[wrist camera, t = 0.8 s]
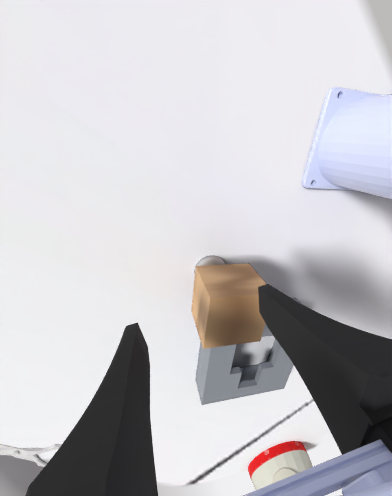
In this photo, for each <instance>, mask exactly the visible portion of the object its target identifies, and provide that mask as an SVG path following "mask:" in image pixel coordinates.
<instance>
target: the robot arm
mask: <svg viewBox="0 0 392 496" xmlns="http://www.w3.org/2000/svg"><path fill="white" fill-rule="evenodd" d="M338 93H339V97H337V95H338ZM312 181H313V183H312V184H311V182H312ZM302 186H303V187H305V188H318V189H340V190H357V191H361V192H365V193H369V194H373V195H376V196H380V197H384V198H388V199H392V94H388V95H379V94H373V93H368V92H362V91H357V90H351V89H346V88H340V87H333V88H331V89H330V90H329V91H328V93H327V95H326V99H325V102H324V106H323V110H322V113H321V117H320V120H319V124H318V127H317V131H316V134H315V138H314V141H313V145H312V149H311V152H310V156H309V159H308V163H307V166H306V170H305V173H304V177H303V180H302ZM258 295H259V312H260V314H261V316H262V318H263V320H264V322H265V323H266V325H267V327H268V329H269V330H270V331H271V333H272V334H273V336H274V337H275V339H276V340H277V341H278V343H279V344H280V346H281V347H282V348H283V350H284V351H285V353H286V354H287V355H288V357H289V358H290V360H291V361H292V363H293V364H294V366H295V367H296V369H297V371H298V372H299V374H300V376H301V378H302V379H303V381H304V383H305V385H306V386H307V388H308V390H309V392H310V394H311V395H312V397H313V399H314V401H315V403H316V404H317V406H318V408H319V410H320V412H321V414H322V416H323V418H324V420H325V421H326V423H327V425H328V427H329V429H330V431H331V433H332V435H333V437H334V439H335V441H336V443H337V445H338V447H339V449H340V451H341V453H342V455H341V456H338V457H336V458H333V459H331V460H329V461H326V462H324V463H321V464H319V465H316V466H314V467H312V468H309V469H307V470H304V471H302V472H299V473H297V474H294V475H292V476H290V477H287V478H285V479H282V480H280V481H277V482H275V483H273V484H270V485H268V486H265V487H263V488H260V489H258V490H256V491H253V492H251V493H248V494H246V495H244V496H325V495H327V494H329V493H332V492H334V491H336V490H339V489H341V488H343V487H344V488H343V489H342V494H343V496H392V339H388V338H384V337H381V336H378V335H374V334H371V333H368V332H365V331H362V330H359V329H356V328H353V327H350V326H348V325H345V324H342V323H340V322H337V321H335V320H333V319H330V318H328V317H326V316H324V315H321V314H319V313H317V312H315V311H313V310H311V309H309V308H307V307H306V306H304V305H302V304H300V303H298V302H297V301H295V300H293V299H291V298H290V297H288V296H286V295H285V294H283V293H282V292H280V291H278V290H277V289H275V288H273V287H272V286H270V285H269V284H266V285H262V286H259V287H258ZM26 496H158V491H157V482H156V474H155V465H154V455H153V445H152V434H151V422H150V362H149V353H148V346H147V344H146V341H145V339H144V337H143V334H142V332H141V330H140V327H139V325H138V323H135V324H131V325H128V326H126V328H125V330H124V333H123V336H122V338H121V341H120V344H119V346H118V349H117V351H116V353H115V356H114V358H113V360H112V363H111V365H110V367H109V369H108V371H107V373H106V375H105V377H104V379H103V381H102V383H101V385H100V387H99V389H98V390H97V392H96V394H95V396H94V397H93V399H92V401H91V402H90V404H89V406H88V407H87V409H86V410H85V412H84V414H83V415H82V417H81V418H80V420H79V421H78V423H77V424H76V426H75V427H74V429H73V430H72V431H71V433H70V434H69V436H68V437H67V438H66V440H65V441H64V443H63V444H62V445H61V447H60V448H59V449H58V451H57V452H56V453H55V455H54V456H53V457H52V459H51V460H50V461H49V462H48V463H47V465H46V466H45V467H44V468H43V470H42V471H41V472H40V474H39V475H38V476H37V477H36V478H35V480H34V481H33V482H32V483H31V484H30V485H29V487H28V490H27V493H26Z"/></svg>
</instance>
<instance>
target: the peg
mask: <svg viewBox="0 0 392 496" xmlns="http://www.w3.org/2000/svg"><path fill="white" fill-rule="evenodd" d="M194 274H195V280H194V290H193V301H192V314H193V317H194V321H195V324H196V327H197V330H198V334H199V337H200V340H201V343H202V347H203V349H206V348H214V347H221V346H228V345H235V344H242V343H250V342H257V341H260V340H261V337H262V333H263V330H264V327H265V322H264V320H263V318H262V316H261V314H260V312H259V295H258V287H259V286H262V285H266V283H265V282H264V280H263V279H262V278H261V277H260V276H259V275H258V273H257V272H256V271H255V270H254V269H253V268H252V266H251V265H250V264H249V263H247V264H225V263H224V261H223V260H222V259H221V258H220V257H218V256H207V257H204V258H202V259H201V260H200V261H199V262H198V263H197V264H196V266H195V270H194Z"/></svg>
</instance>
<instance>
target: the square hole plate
mask: <svg viewBox="0 0 392 496" xmlns="http://www.w3.org/2000/svg"><path fill="white" fill-rule="evenodd" d="M291 299H293V300H295V301H297V302H298V303H300V302H299V301H298V300H297V299H296V298H291ZM300 304H301V303H300ZM272 335H273V334H272V333H271V331H270V330H269V329H268V327H267V325H266V323H265V327H264V330H263V333H262V337H264V336H272ZM236 345H237V344H235V345H228V346H221V347H214V348H206V349H203V347H202V343H200V350H199V358H198V366H197V373H196V383H197V387H198V392H199V396H200V400H201V404H202V405H204V404H209V403H214V402H219V401H224V400H229V399H234V398H239V397H244V396H249V395H254V394H259V393H264V392H269V391H274V390H279V389H284V387H285V385H286V382H287V380H288V377H289V375H290V372H291V370H292V368H293V365H294V364H293V363H292V361H291V360H290V358H289V357H288V355H287V354H286V353H285V351H284V350H283V348H282V347H281V346H280V344H279V343H278V341H277V340H276V339H275V341H274V344H273V347H272V350H271V353H270V356H269V359H268V362H264V363H259V365H254V366H248V367H242V368H240V367H234V368H231V367H232V362H233V358H234V354H235V349H236Z"/></svg>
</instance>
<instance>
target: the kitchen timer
mask: <svg viewBox="0 0 392 496" xmlns="http://www.w3.org/2000/svg"><path fill="white" fill-rule="evenodd" d="M309 468H312V463H311V461H310V458H309V456H308V453H307V451H306V449H305V448H304V446H303V444H302V443H301V442H298V441H290V442H285V443H281V444H278V445H276V446H273V447H271V448H269V449H267V450H266V451H264V452H262V453H261V454H259V455H258V456H257V457H255V458H254V460H253V461H252V462H251V463H250V465H249V467H248V472H249V474H250V478H251V480H252V483H253V485H254V487H255V489H256V490H258V489H260V488H263V487H265V486H268V485H270V484H273V483H275V482H277V481H280V480H282V479H285V478H287V477H290V476H292V475H294V474H297V473H299V472H302V471H304V470H307V469H309Z"/></svg>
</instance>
